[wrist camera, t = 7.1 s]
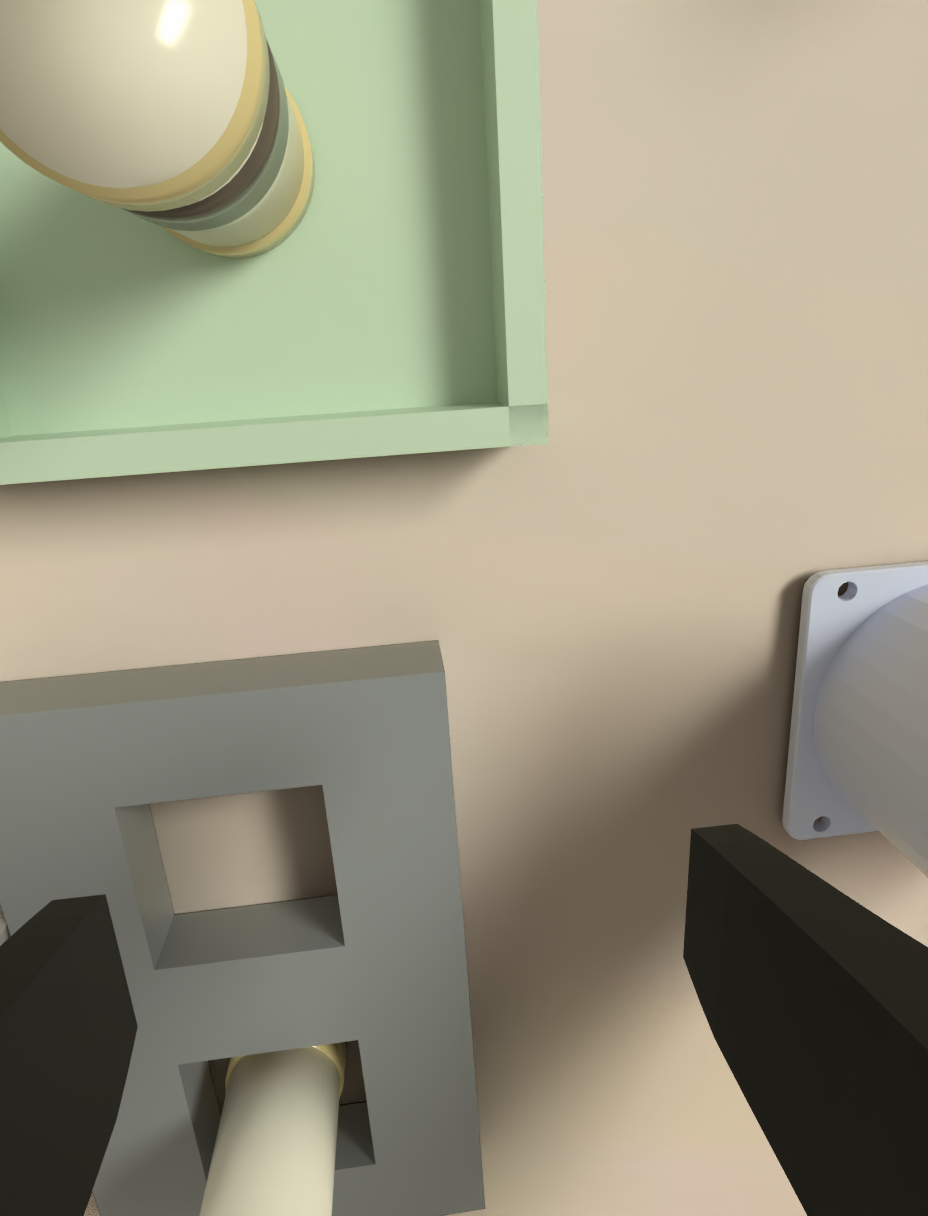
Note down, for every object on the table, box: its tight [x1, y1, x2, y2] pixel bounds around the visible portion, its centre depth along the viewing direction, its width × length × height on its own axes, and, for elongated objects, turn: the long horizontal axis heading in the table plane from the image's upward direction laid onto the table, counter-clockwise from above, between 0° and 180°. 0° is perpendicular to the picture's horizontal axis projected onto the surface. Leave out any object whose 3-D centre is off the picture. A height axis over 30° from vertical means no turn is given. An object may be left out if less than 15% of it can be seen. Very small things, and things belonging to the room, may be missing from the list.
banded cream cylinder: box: [0, 0, 315, 258], centre depth 12 cm, size 3×3×7 cm
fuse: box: [199, 1042, 346, 1216], centre depth 20 cm, size 3×3×7 cm
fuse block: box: [0, 640, 485, 1216], centre depth 21 cm, size 11×18×2 cm, turn 4°
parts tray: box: [0, 0, 548, 485], centre depth 14 cm, size 12×12×2 cm
